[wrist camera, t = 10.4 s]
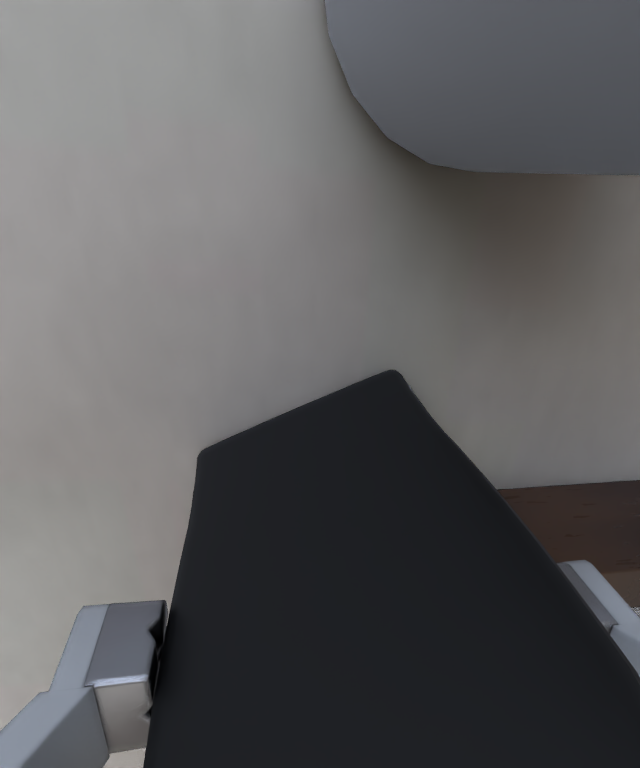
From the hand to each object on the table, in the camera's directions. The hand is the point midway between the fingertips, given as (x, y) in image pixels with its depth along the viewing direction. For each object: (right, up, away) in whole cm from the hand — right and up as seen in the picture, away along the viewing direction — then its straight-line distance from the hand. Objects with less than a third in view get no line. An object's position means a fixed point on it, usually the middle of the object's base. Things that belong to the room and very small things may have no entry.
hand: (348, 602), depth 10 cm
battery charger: (-1, +3, +5) cm, 6 cm away
